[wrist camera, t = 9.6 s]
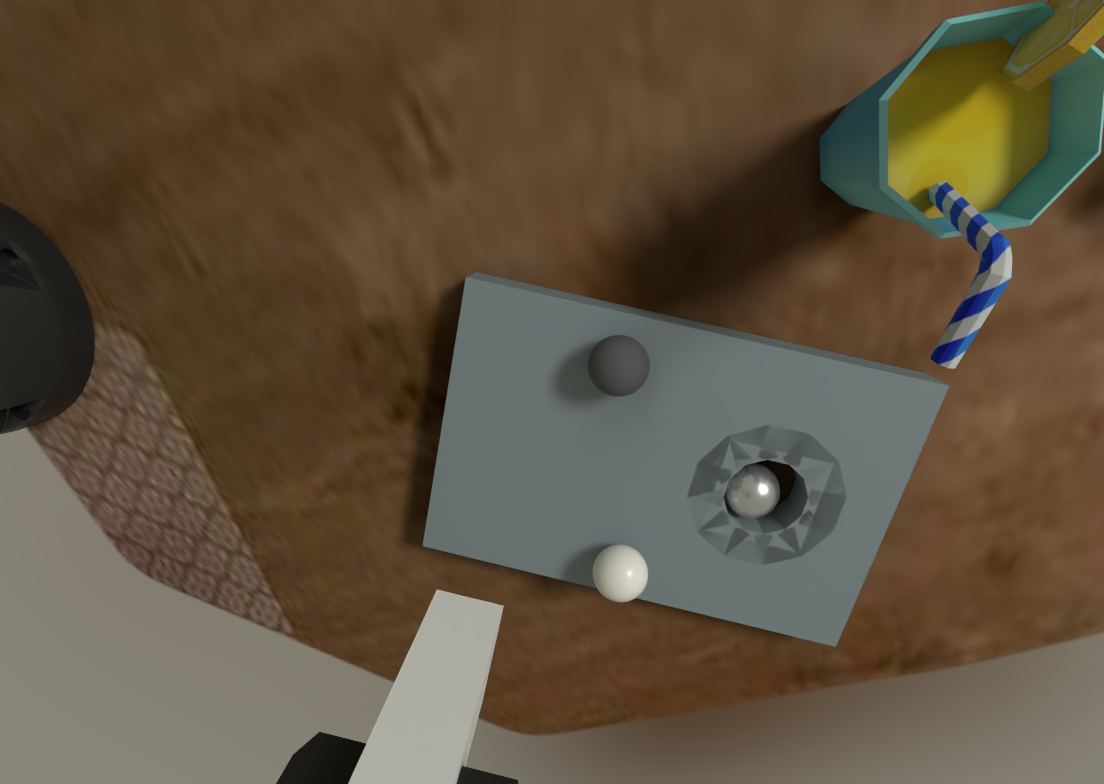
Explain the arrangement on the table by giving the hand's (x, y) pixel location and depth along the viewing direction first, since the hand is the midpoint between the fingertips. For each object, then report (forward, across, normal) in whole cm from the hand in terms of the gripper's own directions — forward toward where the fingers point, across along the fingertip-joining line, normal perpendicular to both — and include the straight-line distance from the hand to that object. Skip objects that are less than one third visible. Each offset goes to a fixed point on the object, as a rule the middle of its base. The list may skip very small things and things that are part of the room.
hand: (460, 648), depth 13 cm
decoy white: (+20, +6, -10) cm, 23 cm away
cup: (+24, +13, +14) cm, 31 cm away
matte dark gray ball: (+20, +3, +2) cm, 20 cm away
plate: (+24, +7, -4) cm, 25 cm away
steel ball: (+22, +13, -4) cm, 26 cm away
